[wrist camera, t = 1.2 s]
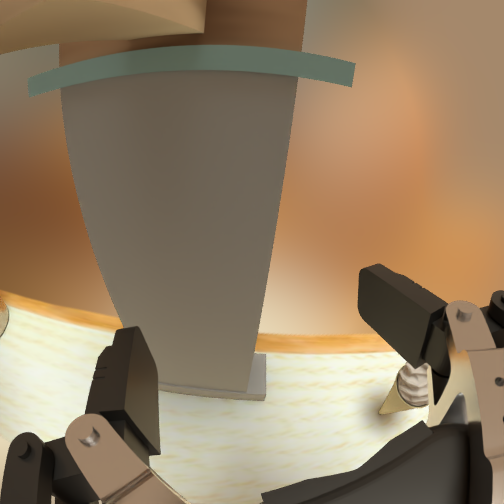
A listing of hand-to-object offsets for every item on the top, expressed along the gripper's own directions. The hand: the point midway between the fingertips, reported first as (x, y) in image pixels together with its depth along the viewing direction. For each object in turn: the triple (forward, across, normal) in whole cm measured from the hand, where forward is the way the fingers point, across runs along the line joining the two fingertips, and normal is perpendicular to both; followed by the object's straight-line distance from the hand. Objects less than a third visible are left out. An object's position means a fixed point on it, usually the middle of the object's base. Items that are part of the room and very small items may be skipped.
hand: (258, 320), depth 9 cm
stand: (+15, +5, +17) cm, 23 cm away
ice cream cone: (+6, -13, +23) cm, 28 cm away
